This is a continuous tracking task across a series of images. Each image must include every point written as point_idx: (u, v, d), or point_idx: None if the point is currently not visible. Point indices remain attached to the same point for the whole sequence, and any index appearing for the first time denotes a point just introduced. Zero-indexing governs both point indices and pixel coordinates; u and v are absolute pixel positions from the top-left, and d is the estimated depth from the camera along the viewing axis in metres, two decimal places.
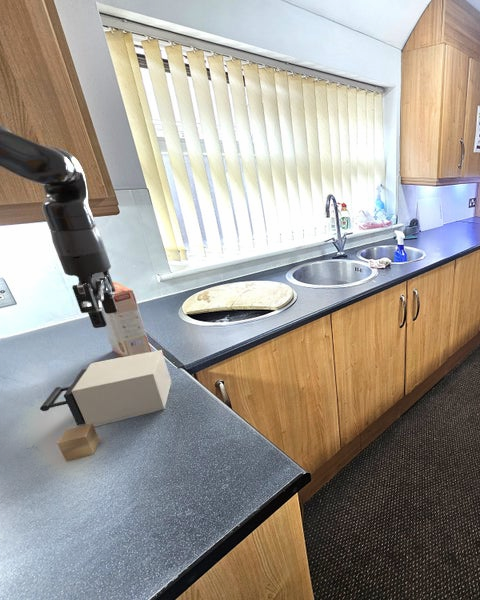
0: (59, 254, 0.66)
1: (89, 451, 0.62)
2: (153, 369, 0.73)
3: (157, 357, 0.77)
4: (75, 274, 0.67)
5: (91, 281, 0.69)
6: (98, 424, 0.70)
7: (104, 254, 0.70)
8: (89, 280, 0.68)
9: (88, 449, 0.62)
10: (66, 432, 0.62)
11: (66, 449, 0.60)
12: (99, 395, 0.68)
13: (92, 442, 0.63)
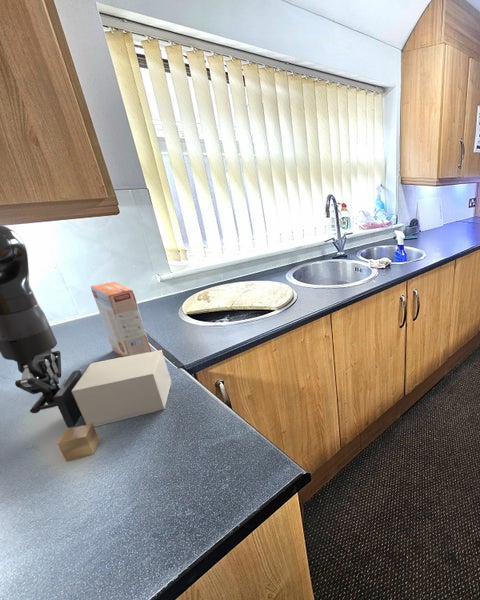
0: None
1: (89, 451, 0.62)
2: (153, 369, 0.73)
3: (157, 357, 0.77)
4: (13, 359, 0.62)
5: (32, 367, 0.63)
6: (98, 424, 0.70)
7: (47, 333, 0.65)
8: (30, 368, 0.63)
9: (88, 449, 0.62)
10: (66, 432, 0.62)
11: (66, 449, 0.60)
12: (99, 395, 0.68)
13: (92, 442, 0.63)
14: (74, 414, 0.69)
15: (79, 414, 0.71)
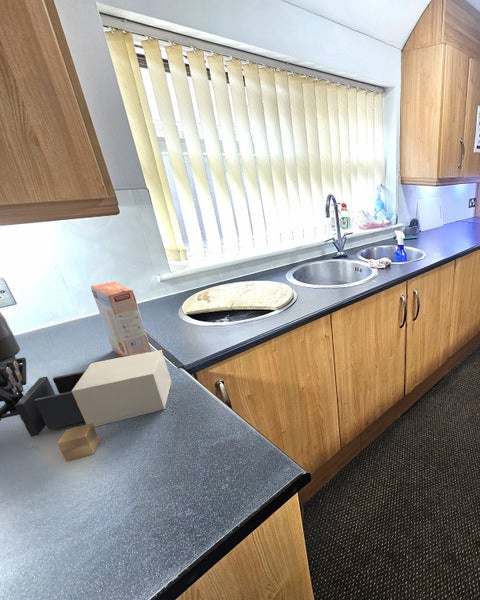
0: None
1: (89, 451, 0.62)
2: (153, 369, 0.73)
3: (157, 357, 0.77)
4: None
5: None
6: (98, 424, 0.70)
7: (8, 339, 0.63)
8: None
9: (88, 449, 0.62)
10: (66, 432, 0.62)
11: (66, 449, 0.60)
12: (99, 395, 0.68)
13: (92, 442, 0.63)
14: (38, 423, 0.66)
15: (44, 422, 0.68)
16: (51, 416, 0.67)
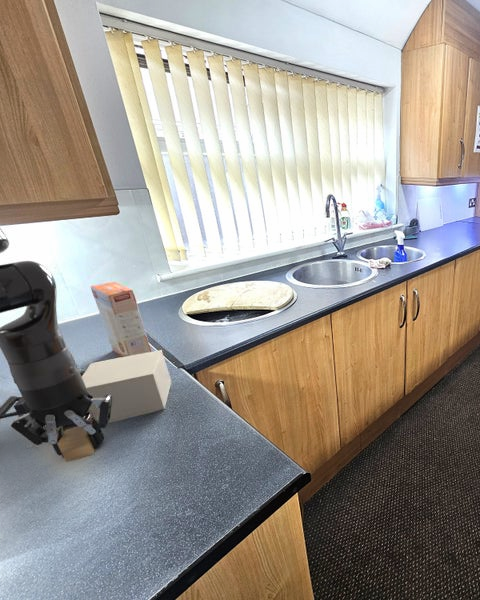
0: None
1: (89, 451, 0.62)
2: (153, 369, 0.73)
3: (157, 357, 0.77)
4: None
5: (30, 414, 0.57)
6: None
7: (35, 394, 0.54)
8: (28, 413, 0.57)
9: (88, 449, 0.62)
10: (66, 432, 0.62)
11: (66, 449, 0.60)
12: (99, 395, 0.68)
13: None
14: None
15: None
16: None
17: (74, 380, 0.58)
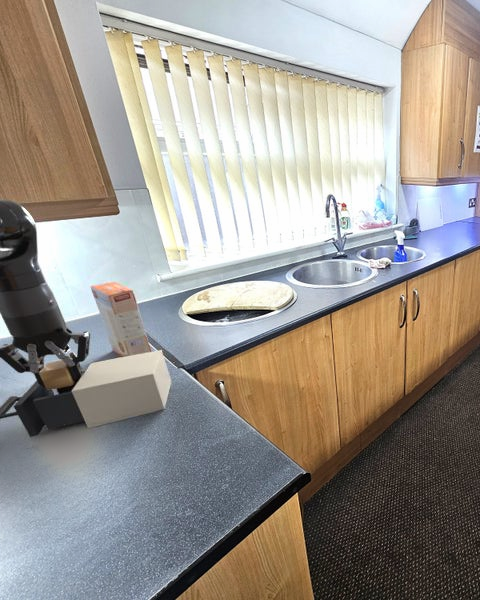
0: None
1: (69, 382, 0.68)
2: (153, 369, 0.73)
3: (157, 357, 0.77)
4: None
5: (13, 343, 0.63)
6: (98, 424, 0.70)
7: (17, 321, 0.60)
8: (12, 342, 0.63)
9: (68, 380, 0.68)
10: (47, 364, 0.68)
11: (47, 378, 0.66)
12: (99, 395, 0.68)
13: None
14: (37, 423, 0.66)
15: (43, 422, 0.68)
16: (50, 417, 0.67)
17: (53, 313, 0.64)
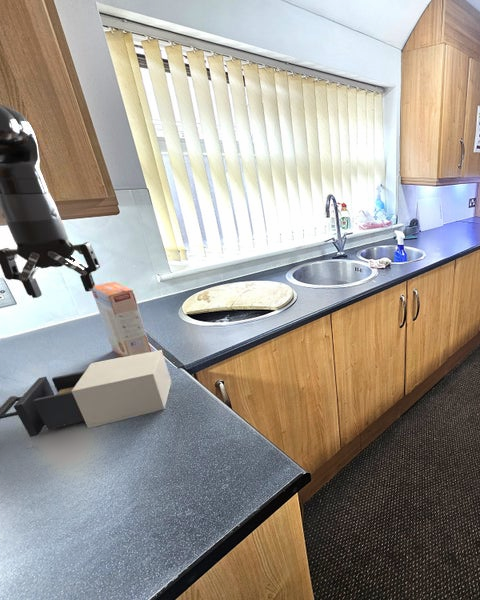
0: None
1: None
2: (153, 369, 0.73)
3: (157, 357, 0.77)
4: None
5: (17, 250, 0.65)
6: (98, 424, 0.70)
7: (21, 226, 0.62)
8: (17, 248, 0.65)
9: None
10: (60, 392, 0.70)
11: None
12: (99, 395, 0.68)
13: None
14: (37, 423, 0.66)
15: (43, 422, 0.68)
16: (50, 417, 0.67)
17: (56, 223, 0.66)
